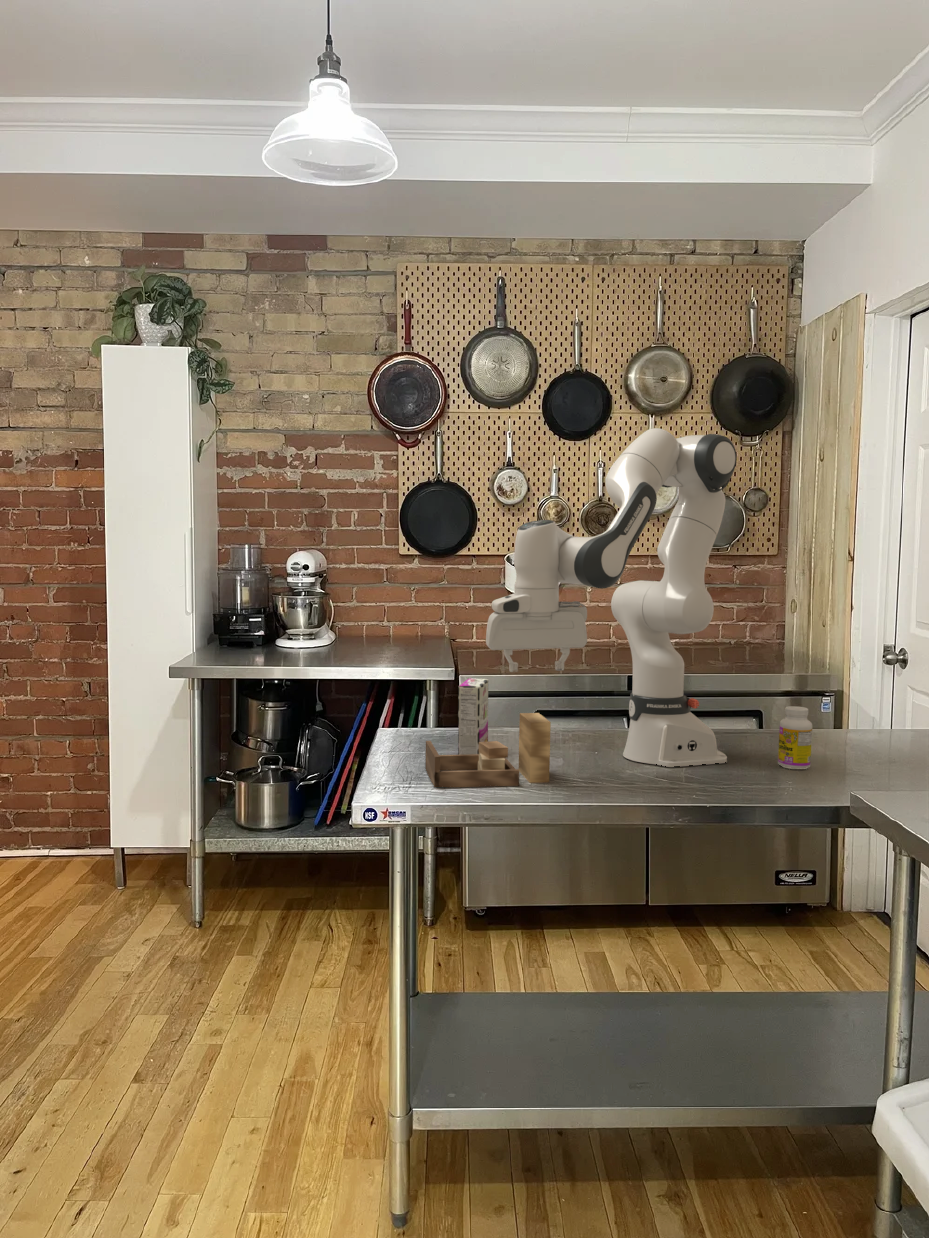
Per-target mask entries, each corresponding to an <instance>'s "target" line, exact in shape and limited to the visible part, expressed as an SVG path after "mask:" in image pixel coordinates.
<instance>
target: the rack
mask: <svg viewBox="0 0 929 1238" xmlns="http://www.w3.org/2000/svg"><path fill="white" fill-rule="evenodd" d="M424 759H425V761H424V762H425V767H424V768H425V769H426V770H425V771H427V772H426V774H427V776H428V778H429V780H430V782H431V784H432V783H433V784H432V786H433V785H434V786H433V788H434V787H447V788H475V787H476V788H479V787H481V788H483V787H517V786H518V787H519V785H520V772H519V770H518V768H515V767H514V765H513V764H512V763H511V762H510V761H509V760H508V758H504V759H505V770H478V761H479V754H467V755H458V754H439V752H438V751H437V749H436V747H435V746H434V744H433V743H432V740H426V741H425V758H424Z"/></svg>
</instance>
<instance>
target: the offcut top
mask: <svg viewBox="0 0 929 1238" xmlns="http://www.w3.org/2000/svg"><path fill="white" fill-rule="evenodd" d="M479 752H480V753H481V754H483V755H484V756H486V757H487V758H489V759H490V758H506V759H508V756H509V747H508V746H506V745H504V744H503V743H501V742H500V741H498V740H494V741H488V742H479Z"/></svg>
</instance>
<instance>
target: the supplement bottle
mask: <svg viewBox="0 0 929 1238" xmlns="http://www.w3.org/2000/svg"><path fill="white" fill-rule="evenodd" d="M784 713H785V717H784V718H782V719H781V720H780V721H779V732H778V733H779V734H778V735H779V736H778V753H777V765H778V764H779V765H781V766H785V767H791V768H806V767H811V761H812V760H811V759H812V758H811V757H812V739H813V723H812V721H810V720H809V719H808V715H809V708H807V707H804V706H791V705H789V706H786V707H785V708H784ZM779 765H778V766H779Z"/></svg>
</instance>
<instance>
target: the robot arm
mask: <svg viewBox="0 0 929 1238" xmlns="http://www.w3.org/2000/svg"><path fill="white" fill-rule="evenodd" d="M737 458H738V457H737V451H736V448H735V445H734V443H733V442H732V440H731V439H730V438H729V437H727V436H725V435H721V434H716V433H709V434H707V433H706V434H692V435H685V436H683V437H682V436H681V437H678V438H676V437H675V435H673V434H672V433H671V432H669V431H668V430H666V429H663V428H659V427H654V428H649V429H647V430H645V431H643V433H641V434H639V436H637V438H635V439H634V440H633V441H632V442H631V443H630V444H629V445H628V446H627V447H626V448H625V449H624V450H623V451H622V452H621V454H620V455H619V456H618V458H617V459H616V460H615V461H614V463H613V464H612V465H611V467H610V468H609V470H608V472H607V474H606V476H605V480H604V481H605V482H604V484H605V489H606V492H607V494H608V497H609V498H610V500H611V501H612V502H613V503H614V505H616V507H618V508H619V510H618V512H616V514H615V516H614V518H613V519H612V521H611V523H610V525H609V526H608V528H607V529H606V531H604V532H603V533H600V534H597V535H595V536H594V535H593V536H574V535H573V534H570V533H569V532H566V531H565V530H563V529H562V528H560V527H559V526H558V525H557V523H556V521H554V520H551V519H540V520H533V521H528V522H525V523H523V524H522V525H520V526H519V527H518V529H517V532H516V535H515V536H516V537H515V542H514V562H513V563H514V570H515V573H516V574H515V575H516V577H515V583H514V588H513V589H514V592H513V593H512V594H508V595H506V596H503V597H500V598H497V599H494V600H493V601H492V602H491V609H492V610H493V611H494V612H492V613H491V614H490V615H489V616H488V619H487V622H486V623H487V626H486V632H485V633H486V634H485V644H486V646H487V647H488V648H489V649H490V650H492V651H503V655H504V658H506V660H507V663H508V668H509V669H508V670H509V672H510V673H518V672H519V669H518V668H519V663H518V662H516V661H514V660H513V659H512V656H513V650H539V649H540V650H541V649H544V650H545V649H560V653H561V656H560V658H559V659H558V660H555V661H554V669H555V671H557V672H558V671H559V672H560V671H565V662H566V661H567V659H568V657H569V655H570V653H571V649H574V648H580V649H581V648H585V646H586V645H587V644H588V632H587V626H586V621H587V619H588V608H587V607H586V605H585V604H583V603H581V602H580V601H579V600H578V601H577V600H575V601H574V600H573V601H560V589H559V588H560V585H559V583H561V584H570V585H576V586H578V585H579V586H588V587H592V588H596V589H602V590H603V589H608V588H610V587H611V586H614V585H615V584H616V583H617V582H618V581H619V580H620V579H621V577H622V576H623V573H624V571H625V568H626V565H627V562H628V559H629V555H630V554H631V552H632V551H633V548H634V546H635V544H636V543H637V541H638V539H639V538H640V535H641V534H642V532H643V531H644V529H645V527H646V525H647V524H648V522H649V520H650V518H651V517H652V514H653V512H654V510H655V507H656V504H657V497H658V496H657V494H658V492H659V491H660V489H661V488H678V498H677V499H678V500H677V502H676V504H675V506H674V508H673V510H672V512H671V514H670V517H669V519H668V520H667V523H666V526H665V528H664V530H663V532H662V533H663V534H662V535H661V538H660V541H659V543H658V546H657V548H656V552H657V553H656V554H657V556H658V559H659V561H660V562H661V563H662V564H663V565H664V570H663V571H664V572H663V576H662V578H661V579H660V581H654V580H636V581H630V582H626V583H623V584H620V585H619V586H618V587H617V588H616V589H615V590H614V591H613V595H612V597H611V603H610V608H611V612H612V615H613V617H614V619H615V620H616V621H617V622H618V624H620V626H621V627H622V629H623V631H624V633H625V636H626V638H627V642H628V645H629V648H630V655H631V659H632V661H631V662H632V685H631V686H632V691H631V692H630V697H629V703H628V704H629V706H628V709H629V710H628V714H629V719H630V720H629V727H628V733H627V738H626V743H625V747H624V749H623V753H622V756H623V757H624V758H625V759H628V760H630V761H633V762H638V763H644V764H650V765H656V764H657V765H656V766H661V765H662V767H665V766H666V768H675V767H674V766H680V767H689V765H693V766H702V764H706V765H716V764H715V763H719V764H726V763H728V756H727V755H726V754H725V753H724V752H722V751H720V750H718V745H717V739H716V735H715V733H714V731H713V730H712V729H711V728H710V727H709V725H707V724H705V723H704V721H702V720H701V719H699V718H698V717H697V716H696V715H695V714H694V713H692V712H691V708H692V709H694V710H695V709H697V708H699V706H700V701H699V700H698V699H695V698H689V697H688V696H687V695H685V694H684V686H685V685H684V683H685V681H684V680H685V662H684V659H683V657H682V655H681V654H680V653H679V652H678V651H677V650H676V649H675V647H674V646H673V644H672V641H671V638H670V634H676V635H688V634H694V633H699V632H702V631H705V629H707V627H708V626H709V625H710V623H711V621H712V619H713V616H714V612H715V611H714V608H715V607H714V601H713V597H712V596H711V594H710V592H709V591H708V589H707V588H706V587H707V586H706V584H705V583H706V582H705V570H706V566H707V564H708V560H709V558H710V554H711V552H712V550H713V546H714V544H715V541H716V539H717V536H718V533H719V531H720V527H721V524H722V521H723V517H724V512H725V507H726V495H725V493H724V491H723V490H724V489H725V488H726V487H727V486H728V485H729V483H730V481H731V478H732V476H733V474H734V472H735V470H736V469H735V468H736V465H737V461H738V460H737ZM725 762H726V763H725Z"/></svg>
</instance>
